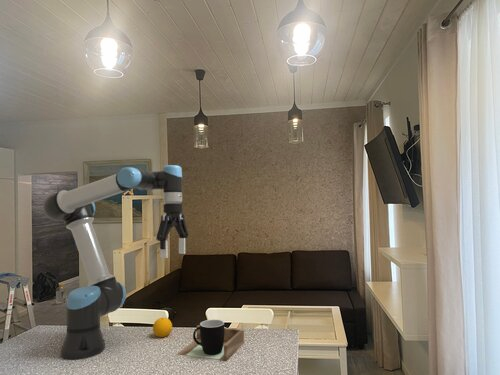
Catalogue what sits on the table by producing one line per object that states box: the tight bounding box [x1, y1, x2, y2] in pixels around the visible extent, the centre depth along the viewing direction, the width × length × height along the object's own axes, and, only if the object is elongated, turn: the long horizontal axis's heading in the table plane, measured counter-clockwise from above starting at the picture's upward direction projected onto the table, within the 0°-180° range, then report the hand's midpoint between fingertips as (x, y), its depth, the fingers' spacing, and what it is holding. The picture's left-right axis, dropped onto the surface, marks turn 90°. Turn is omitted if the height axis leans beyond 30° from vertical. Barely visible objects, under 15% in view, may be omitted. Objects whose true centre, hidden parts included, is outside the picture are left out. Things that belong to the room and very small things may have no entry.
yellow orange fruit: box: [152, 317, 173, 338], centre depth 148 cm, size 8×8×8 cm
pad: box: [186, 345, 224, 361], centre depth 127 cm, size 13×11×1 cm
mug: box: [192, 319, 226, 355], centre depth 127 cm, size 12×9×10 cm
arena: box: [176, 324, 245, 362], centre depth 130 cm, size 20×17×6 cm
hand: (173, 255), depth 140 cm, fingers open, 13 cm apart
